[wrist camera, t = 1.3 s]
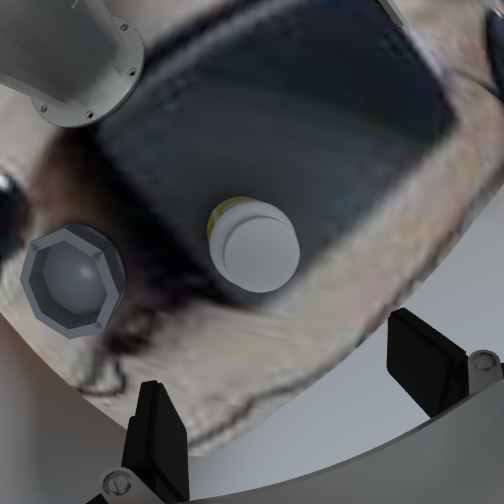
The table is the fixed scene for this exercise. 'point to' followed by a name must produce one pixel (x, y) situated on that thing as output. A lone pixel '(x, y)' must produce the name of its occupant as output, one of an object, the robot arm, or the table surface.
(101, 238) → the socket cup
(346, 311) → the table surface
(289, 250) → the pill bottle
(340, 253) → the table surface
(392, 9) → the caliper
